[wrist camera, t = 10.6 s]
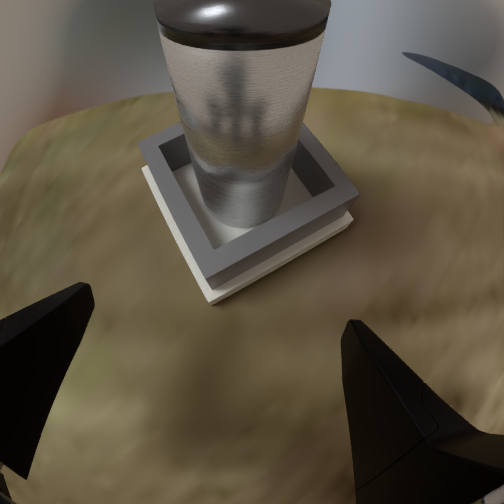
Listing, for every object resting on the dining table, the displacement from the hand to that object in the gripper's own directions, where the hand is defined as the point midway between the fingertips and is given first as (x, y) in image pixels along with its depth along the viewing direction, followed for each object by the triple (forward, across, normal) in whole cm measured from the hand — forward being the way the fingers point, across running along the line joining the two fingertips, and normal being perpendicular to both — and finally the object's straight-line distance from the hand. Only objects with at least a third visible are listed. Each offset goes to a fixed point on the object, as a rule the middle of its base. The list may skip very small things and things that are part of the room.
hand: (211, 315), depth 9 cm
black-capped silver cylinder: (+10, 0, -1) cm, 10 cm away
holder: (+11, 0, 0) cm, 11 cm away
